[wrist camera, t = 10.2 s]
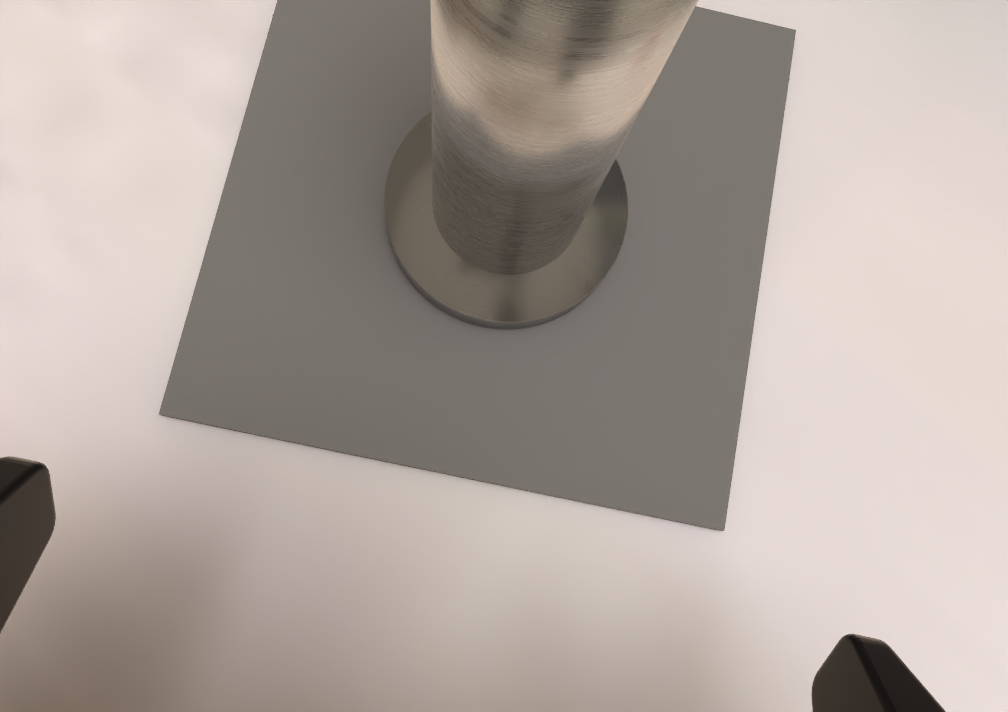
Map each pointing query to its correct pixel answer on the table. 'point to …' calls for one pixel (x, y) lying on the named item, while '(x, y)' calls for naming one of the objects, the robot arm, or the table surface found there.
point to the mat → (465, 347)
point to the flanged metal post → (524, 152)
